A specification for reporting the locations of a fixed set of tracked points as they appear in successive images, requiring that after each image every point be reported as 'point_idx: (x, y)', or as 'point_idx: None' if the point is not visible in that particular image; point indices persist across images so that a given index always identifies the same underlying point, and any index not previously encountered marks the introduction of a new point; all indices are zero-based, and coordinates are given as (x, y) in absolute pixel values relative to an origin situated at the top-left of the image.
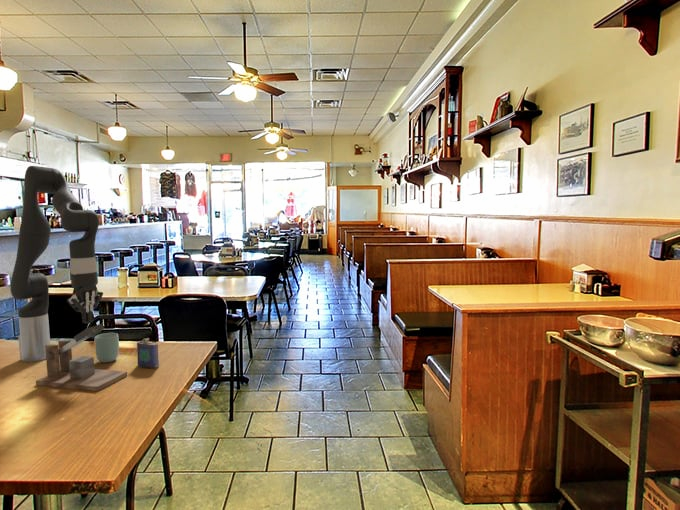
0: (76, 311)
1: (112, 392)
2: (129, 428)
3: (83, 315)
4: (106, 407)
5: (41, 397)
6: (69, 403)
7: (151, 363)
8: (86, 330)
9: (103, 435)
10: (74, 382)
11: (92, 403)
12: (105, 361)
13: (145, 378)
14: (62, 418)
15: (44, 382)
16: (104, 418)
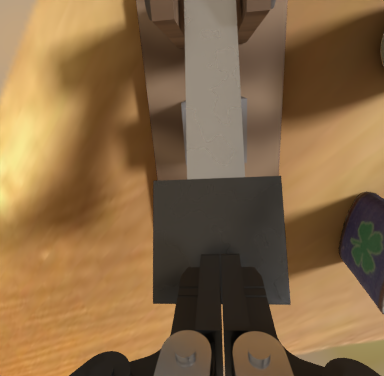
0: (99, 355)
1: None
2: (75, 366)
3: (181, 326)
4: (112, 294)
5: (86, 112)
6: (93, 212)
7: (346, 256)
8: (155, 295)
9: (43, 348)
10: (166, 144)
11: (114, 258)
12: (381, 60)
13: None
14: (45, 253)
15: (140, 33)
16: (80, 317)
